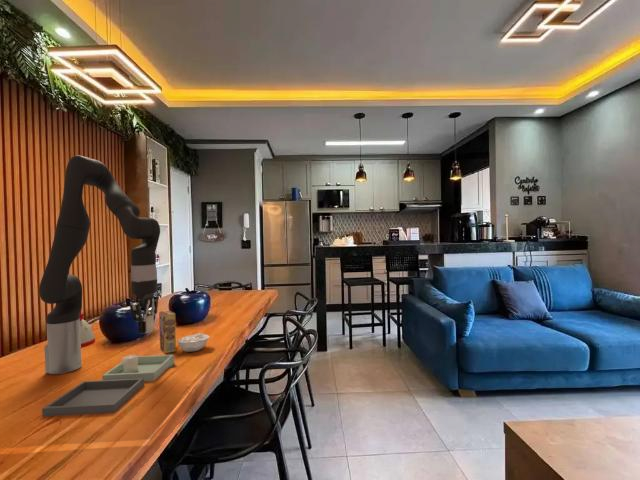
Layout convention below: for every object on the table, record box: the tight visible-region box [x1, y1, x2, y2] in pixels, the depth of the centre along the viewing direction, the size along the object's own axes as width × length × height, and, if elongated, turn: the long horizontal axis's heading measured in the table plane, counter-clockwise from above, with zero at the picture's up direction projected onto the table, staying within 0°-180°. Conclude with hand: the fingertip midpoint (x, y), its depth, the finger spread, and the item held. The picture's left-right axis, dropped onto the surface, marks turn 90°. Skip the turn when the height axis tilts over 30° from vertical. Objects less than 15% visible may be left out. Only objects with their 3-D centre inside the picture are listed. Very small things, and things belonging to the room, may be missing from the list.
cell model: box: [177, 332, 210, 353], centre depth 131 cm, size 10×12×7 cm
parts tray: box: [41, 378, 145, 417], centre depth 91 cm, size 18×16×3 cm
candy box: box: [158, 310, 177, 354], centre depth 133 cm, size 9×4×15 cm, turn 39°
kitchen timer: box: [80, 311, 96, 348], centre depth 144 cm, size 14×14×15 cm
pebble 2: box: [142, 315, 155, 335], centre depth 107 cm, size 4×4×5 cm
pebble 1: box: [121, 354, 139, 373], centre depth 109 cm, size 4×4×5 cm
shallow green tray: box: [101, 354, 175, 383], centre depth 109 cm, size 16×16×4 cm
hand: (146, 330), depth 107 cm, fingers closed on pebble 2, 4 cm apart
